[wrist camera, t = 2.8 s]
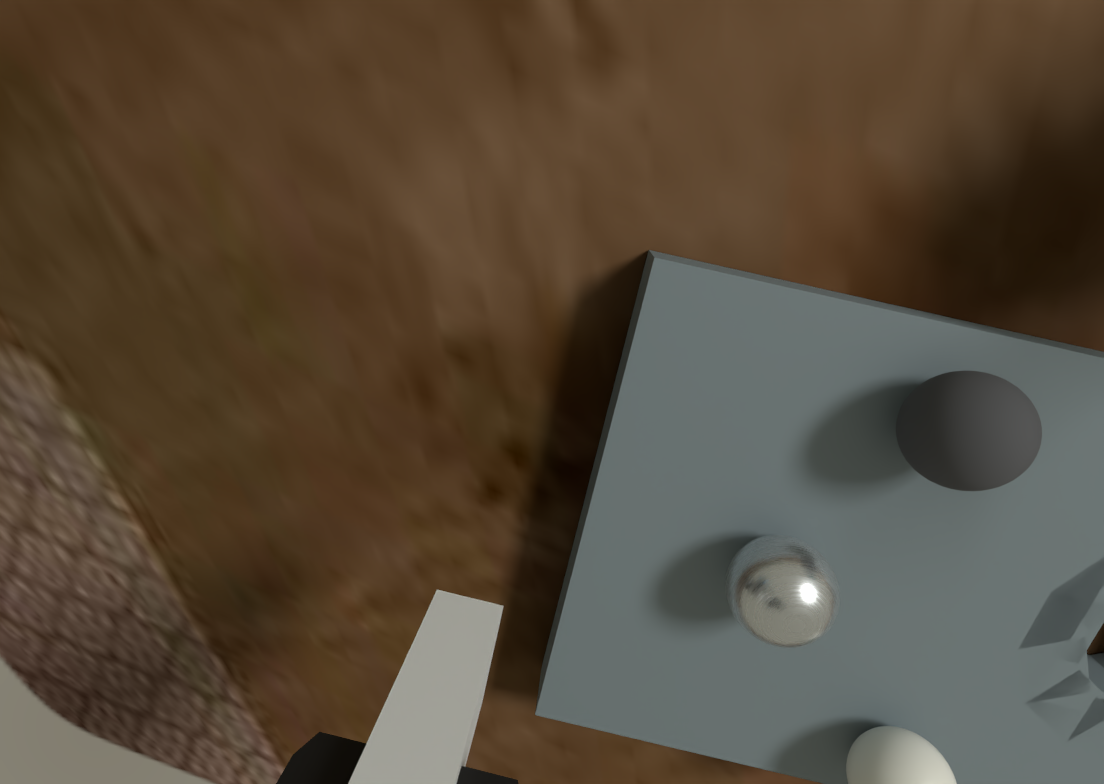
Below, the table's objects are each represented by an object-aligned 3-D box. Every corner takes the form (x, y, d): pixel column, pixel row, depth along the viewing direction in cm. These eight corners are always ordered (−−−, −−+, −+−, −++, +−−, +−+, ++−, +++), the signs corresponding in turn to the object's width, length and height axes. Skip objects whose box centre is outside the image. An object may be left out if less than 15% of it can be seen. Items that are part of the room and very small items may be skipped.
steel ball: (704, 588, 20) (722, 658, 17) (733, 505, 19) (758, 563, 16) (799, 610, 20) (833, 684, 17) (833, 528, 19) (876, 591, 16)
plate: (541, 665, 25) (535, 714, 22) (648, 250, 19) (654, 257, 17) (1171, 813, 24) (1232, 880, 22) (1460, 431, 19) (1582, 465, 17)
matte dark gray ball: (859, 447, 18) (910, 497, 15) (901, 346, 17) (964, 377, 14) (964, 471, 18) (1037, 526, 15) (1012, 371, 17) (1100, 408, 14)
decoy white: (819, 762, 22) (853, 853, 19) (851, 695, 21) (892, 779, 18) (905, 782, 22) (954, 877, 19) (942, 716, 21) (1000, 805, 18)
